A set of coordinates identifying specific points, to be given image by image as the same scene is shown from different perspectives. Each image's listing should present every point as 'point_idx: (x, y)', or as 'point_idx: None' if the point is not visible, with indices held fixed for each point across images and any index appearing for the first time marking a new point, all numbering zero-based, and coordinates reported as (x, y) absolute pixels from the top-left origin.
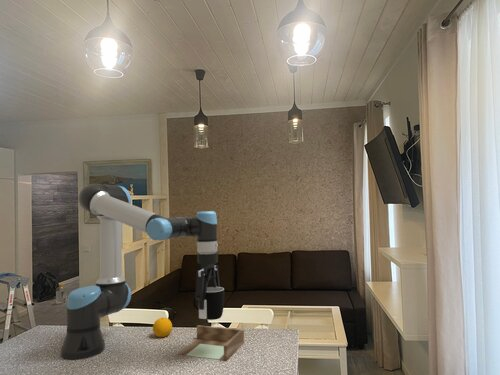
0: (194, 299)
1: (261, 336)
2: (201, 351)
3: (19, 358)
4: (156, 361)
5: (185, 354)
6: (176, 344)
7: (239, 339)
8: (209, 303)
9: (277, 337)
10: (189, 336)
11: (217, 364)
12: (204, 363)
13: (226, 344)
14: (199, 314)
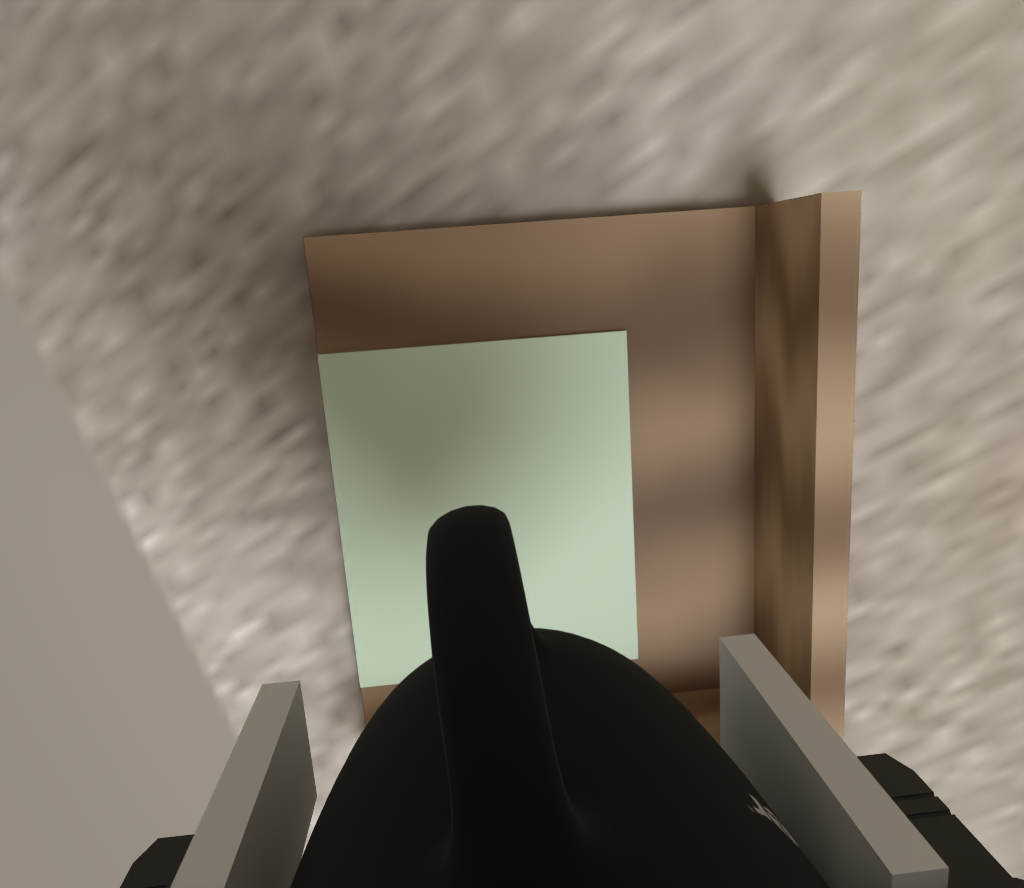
0: (439, 601)
1: (1012, 737)
2: (450, 454)
3: None
4: (139, 99)
5: (339, 334)
6: (603, 23)
7: None
8: None
9: (1013, 862)
10: (865, 28)
11: (330, 673)
12: (302, 566)
13: None
14: (246, 733)
